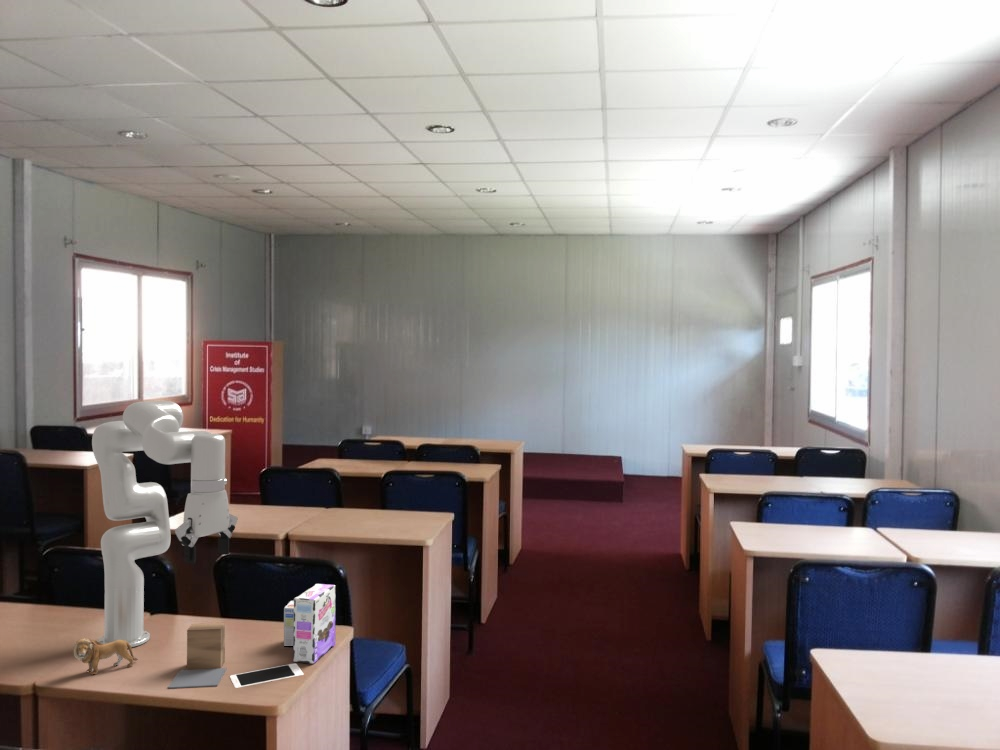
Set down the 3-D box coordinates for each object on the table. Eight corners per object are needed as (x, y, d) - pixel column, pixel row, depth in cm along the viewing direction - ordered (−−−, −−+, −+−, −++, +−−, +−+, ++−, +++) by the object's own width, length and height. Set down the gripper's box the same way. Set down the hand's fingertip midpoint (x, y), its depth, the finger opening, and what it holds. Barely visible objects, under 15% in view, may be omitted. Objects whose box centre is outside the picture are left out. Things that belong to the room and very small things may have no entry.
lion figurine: (77, 681, 176) (77, 643, 176) (69, 675, 180) (70, 638, 179) (141, 664, 186) (141, 628, 186) (133, 658, 190) (133, 623, 190)
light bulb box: (328, 638, 205) (329, 600, 205) (322, 648, 198) (323, 607, 198) (290, 638, 205) (290, 599, 205) (282, 647, 199) (283, 607, 198)
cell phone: (304, 676, 181) (304, 674, 181) (235, 690, 173) (235, 687, 173) (296, 665, 188) (296, 662, 188) (229, 678, 180) (229, 675, 180)
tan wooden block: (191, 663, 187) (192, 623, 187) (224, 661, 189) (225, 622, 189) (186, 670, 183) (187, 630, 183) (220, 668, 184) (221, 628, 184)
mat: (179, 671, 182) (179, 670, 182) (226, 669, 184) (226, 667, 184) (167, 688, 172) (167, 687, 172) (217, 686, 174) (217, 684, 174)
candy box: (314, 664, 187) (314, 599, 187) (292, 662, 188) (292, 597, 188) (336, 644, 201) (336, 583, 200) (315, 642, 202) (316, 582, 202)
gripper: (225, 480, 185) (224, 548, 185) (165, 489, 170) (165, 564, 170) (247, 482, 182) (246, 552, 182) (188, 492, 166) (187, 569, 166)
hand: (207, 558), depth 176 cm, fingers open, 9 cm apart
